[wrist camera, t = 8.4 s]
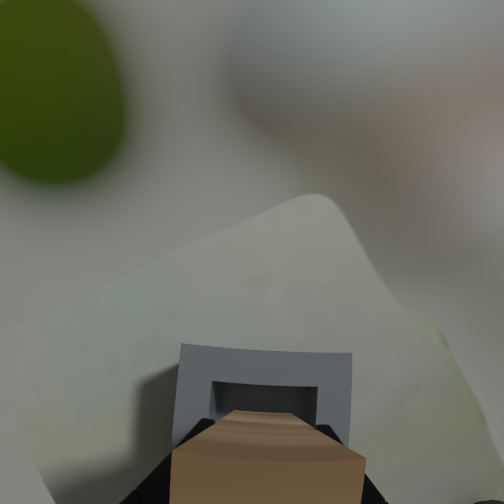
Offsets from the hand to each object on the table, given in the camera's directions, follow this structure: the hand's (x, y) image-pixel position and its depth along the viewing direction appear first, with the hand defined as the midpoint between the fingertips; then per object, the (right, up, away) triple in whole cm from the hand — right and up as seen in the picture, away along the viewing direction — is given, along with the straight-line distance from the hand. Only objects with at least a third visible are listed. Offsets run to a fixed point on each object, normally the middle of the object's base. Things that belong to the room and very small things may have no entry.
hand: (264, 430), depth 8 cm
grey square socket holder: (0, -7, +11) cm, 13 cm away
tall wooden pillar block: (0, -4, +6) cm, 7 cm away
